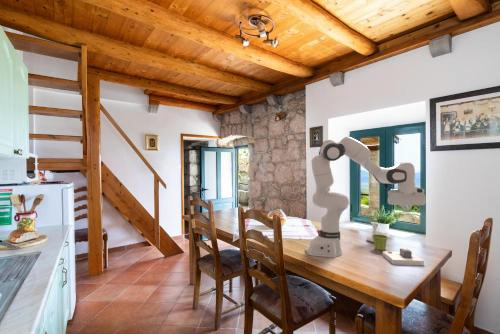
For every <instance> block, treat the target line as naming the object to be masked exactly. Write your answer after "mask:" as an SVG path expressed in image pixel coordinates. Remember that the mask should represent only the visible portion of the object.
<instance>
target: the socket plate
mask: <svg viewBox="0 0 500 334" xmlns="http://www.w3.org/2000/svg"><path fill="white" fill-rule="evenodd" d="M382 256H383V258H385V259H386V260H388V261H389V263H391V265H400V266H401V265H404V266H405V265H407V266H425V263H424V260H423V259H422V258H420V257H419V256H417V255H416V254H414V253H412V258H403V257H402V256H401V255H400V251H389V250H388V251H387V250H382Z"/></svg>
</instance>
